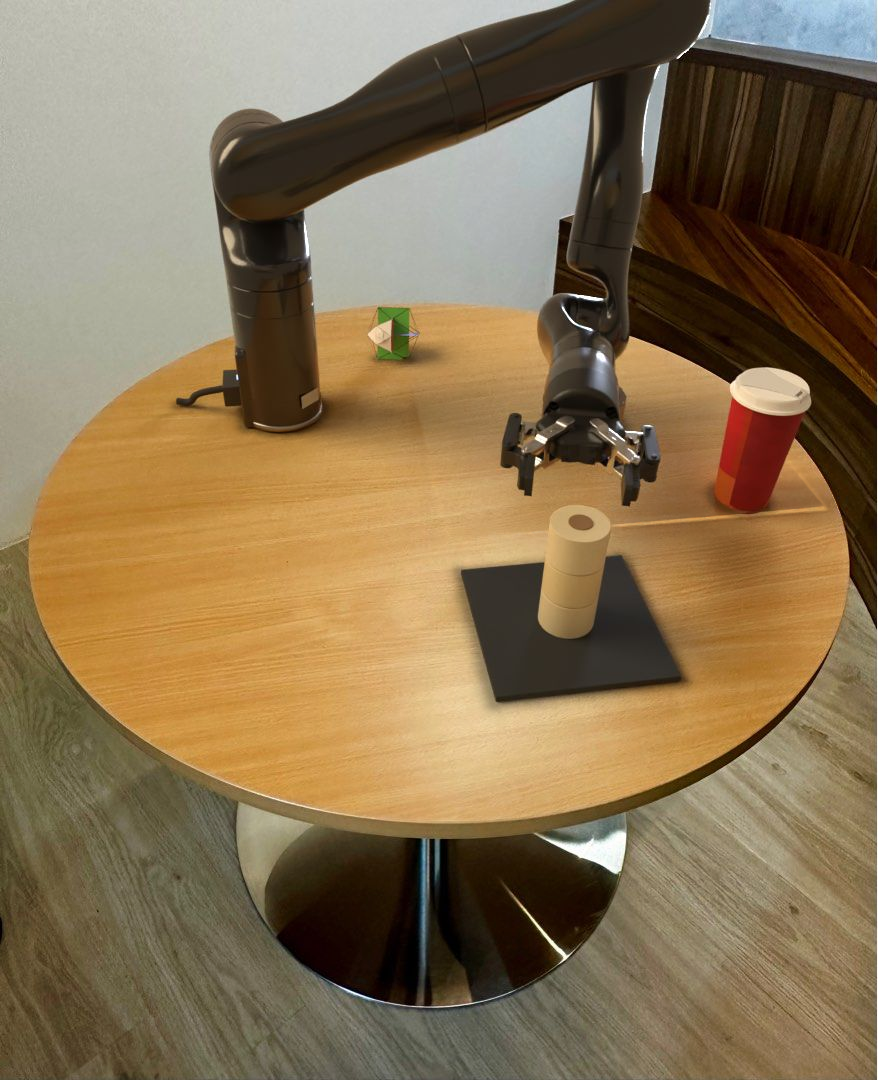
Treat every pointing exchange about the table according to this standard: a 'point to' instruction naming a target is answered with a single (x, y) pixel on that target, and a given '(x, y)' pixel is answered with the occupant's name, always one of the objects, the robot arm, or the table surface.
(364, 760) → the table surface
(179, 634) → the table surface
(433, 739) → the table surface
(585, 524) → the tape stack
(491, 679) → the rubber mat
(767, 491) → the paper cup
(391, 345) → the geometric puzzle
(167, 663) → the table surface
